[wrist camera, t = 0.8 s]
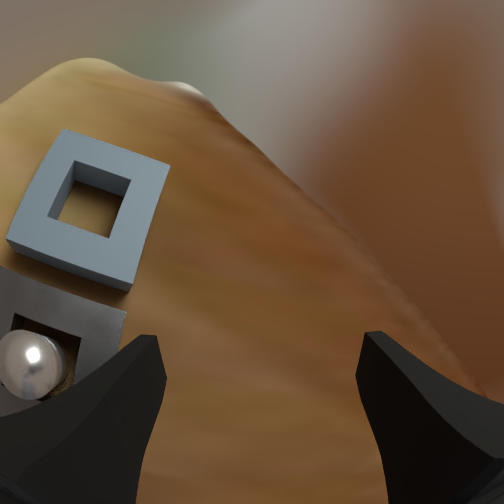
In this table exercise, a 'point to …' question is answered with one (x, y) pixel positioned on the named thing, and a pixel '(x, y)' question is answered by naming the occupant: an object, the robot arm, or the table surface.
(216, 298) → the table surface
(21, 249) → the block
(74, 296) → the charcoal stand
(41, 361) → the aluminium peg
